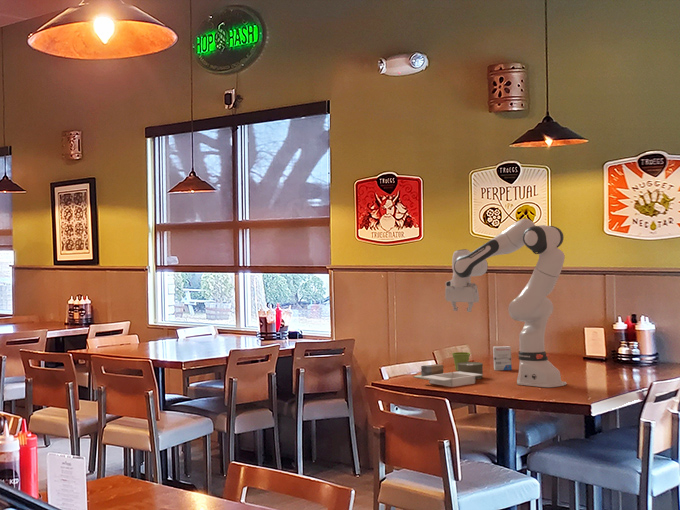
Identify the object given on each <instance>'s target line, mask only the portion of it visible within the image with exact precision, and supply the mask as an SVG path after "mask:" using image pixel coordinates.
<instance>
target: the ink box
mask: <svg viewBox="0 0 680 510" xmlns="http://www.w3.org/2000/svg"><path fill="white" fill-rule="evenodd" d="M492 351H493V352H492V353H493V357H492V358H493V369H494V371H512V370H513V369H512V368H513V367H512V347H511V346H507V345H504V346H502V345H501V346H492Z"/></svg>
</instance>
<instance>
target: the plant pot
mask: <svg viewBox="0 0 680 510" xmlns="http://www.w3.org/2000/svg"><path fill="white" fill-rule="evenodd" d="M451 355H452V358H453V363H454V368H455V371H456V372H458V365H457V363H461V362H470V357H471V352H465V351H464V352H463V351H462V352H461V351H458V352H452V353H451Z"/></svg>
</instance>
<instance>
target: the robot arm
mask: <svg viewBox="0 0 680 510" xmlns="http://www.w3.org/2000/svg"><path fill="white" fill-rule="evenodd" d="M563 242H564V233H563V231H562V230H561V229H560V228H559V227H557V226H553V225H535V223H534V222H533V221H532V220H531V219H529V218H522V219H520V220H518V221H516V222H514V223H512V224H511V225H509V226H508V227H506V228H505V229H503V230H502V231H501V232H500V233H498V234H497V235H496V236H494V237H493V238H491V239H490V240H489V241H487V242H486V243H483V244H482V245H481V246H479V247H477V248H475V249H474V250H473V251H470V250H469V249H465V248H463V249H457V250H455V251H454V252H453V254H452V258H451V259H452V260H451V269H452V279H450V280H448V281H446V282H445V283H444V284H445V285H444V286H445V290H444V291H445V292H444V296H445V301H446V302H450V304H451V306H452V311H454V312H458V310H459V307H457V303H467V304H468V307H467V308H466V312H467V313H471V312H472V308H473V306H474V303H479V302H480V294H479V289H478V285H477V284H476V283H474V282H473V283H472V277H480V276H484V275H485V274H486V273H487V271H488V269H489V268H488V267H489V265H488V261H487V260H488V259H489V258H492V257H494V256H499V255H509V254H512V253H514V252H516V251H518V250H520V249H521V248H523V247H524V246H526V248H527V249H529V250H530V251H531V252H532V253H533V254H534V255H538V260H537V262H536V265H535V266H534V269H533V272H532V274H531V276H530V279H529V280H528V282H527V283H526V285H525V286H524V287H523V289H522V290H521V291H520V293H518V295H517V296H516V297H515V298H514V299H512V301H510V303H509V305H508V308H507V310H508V315H509V317H510V318H511V319H512V320H514V321H518V322H524V325H523V328H522V329H521V330H520V333H519V334H518V337H519V338H518V339H519V340H518V342H519V351H518V356H517V357H518V360H519V365H518V375H517V378H516V379H517V380H516V383H517V386H518V385H519V386H529V387H531V386H532V387H537V388H538V387H539V388H557V387H562V386H566V385H567V381H563V380H562V378H561V372H560V370H559V369H558V368H557V367H556V366H554V365H553V363H552V362H551V361H550V360H548V359H549V358H548V357H549V356H550V353H547V352H546V350H545V333H546V328H547V323H548V321H549V318H550V316H551V315H552V314H553V312H554V304H553V302H552V300H551V299H550V298H548V297H547V296H549V295H550V294H551V293H552V292H553V290H554V288H555V286H556V284H557V282H558V280H559V278H560V275H561V272H562V269H563V266H564V264H565V263H564V262H565V258H566V257H565V256H566V255H565V253H564V251H562V250H561V249H560V248H559V247H560V246H561V245H562V244H563Z"/></svg>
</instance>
